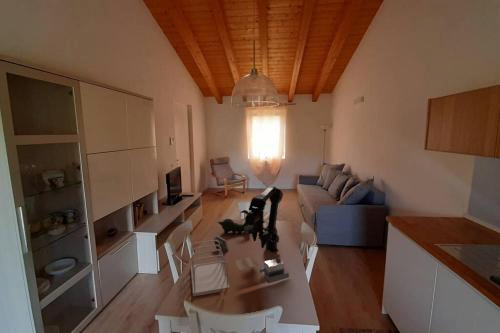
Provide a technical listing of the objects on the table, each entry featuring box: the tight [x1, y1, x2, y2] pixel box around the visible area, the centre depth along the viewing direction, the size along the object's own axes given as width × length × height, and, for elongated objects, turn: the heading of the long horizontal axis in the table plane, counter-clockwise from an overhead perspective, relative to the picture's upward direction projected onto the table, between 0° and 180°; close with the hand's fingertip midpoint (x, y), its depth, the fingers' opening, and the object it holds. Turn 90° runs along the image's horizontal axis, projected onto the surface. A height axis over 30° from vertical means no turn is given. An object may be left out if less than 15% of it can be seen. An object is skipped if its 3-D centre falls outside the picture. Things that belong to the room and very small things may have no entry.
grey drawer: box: [263, 257, 285, 278], centre depth 130 cm, size 6×9×7 cm, turn 115°
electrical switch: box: [213, 235, 230, 252], centre depth 156 cm, size 9×5×9 cm, turn 44°
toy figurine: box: [217, 209, 249, 235], centre depth 183 cm, size 9×19×25 cm
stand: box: [232, 256, 259, 271], centre depth 140 cm, size 12×10×2 cm
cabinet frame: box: [259, 267, 290, 284], centre depth 131 cm, size 12×10×2 cm
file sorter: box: [190, 239, 230, 297], centre depth 127 cm, size 25×17×16 cm
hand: (258, 244), depth 141 cm, fingers open, 9 cm apart
